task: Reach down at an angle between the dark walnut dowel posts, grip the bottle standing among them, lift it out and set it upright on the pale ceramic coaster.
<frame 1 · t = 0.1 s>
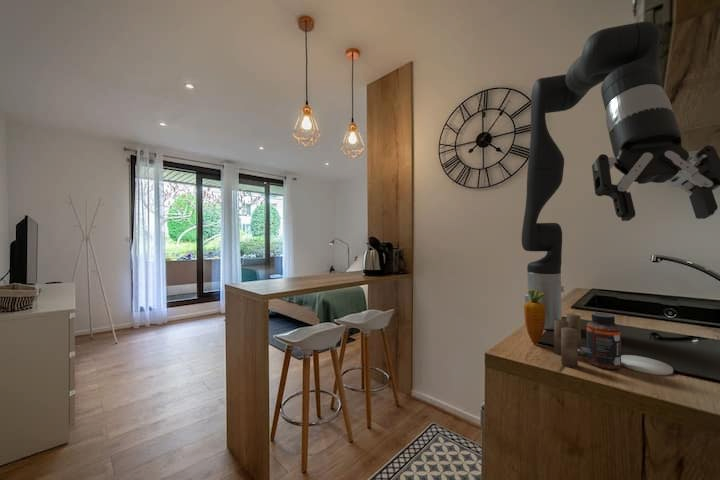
hand: (666, 217, 41), 31 cm above the countertop, tool tilted 20°, fingers open, 8 cm apart
nut: (583, 354, 73), on the countertop
post c: (561, 353, 73), on the countertop
carrot: (535, 345, 79), on the countertop
post a: (573, 345, 78), on the countertop
supplement bottle: (603, 365, 66), on the countertop
coaster: (643, 365, 65), on the countertop
post b: (569, 365, 66), on the countertop
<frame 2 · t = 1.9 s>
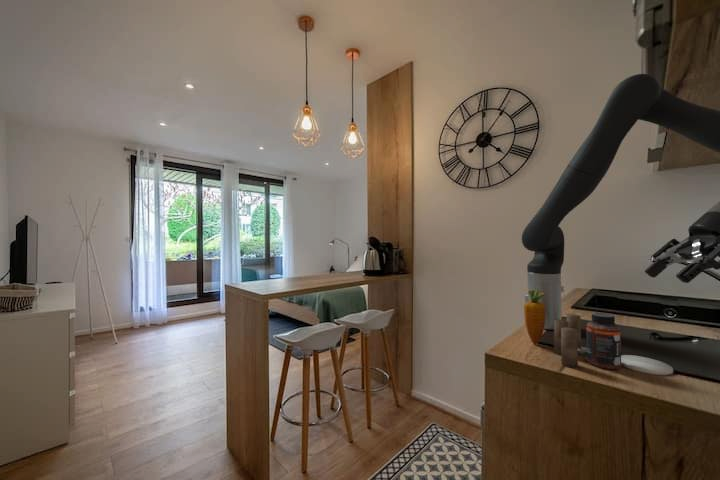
hand: (663, 277, 64), 20 cm above the countertop, tool tilted 45°, fingers open, 8 cm apart
nothing on the countertop moved.
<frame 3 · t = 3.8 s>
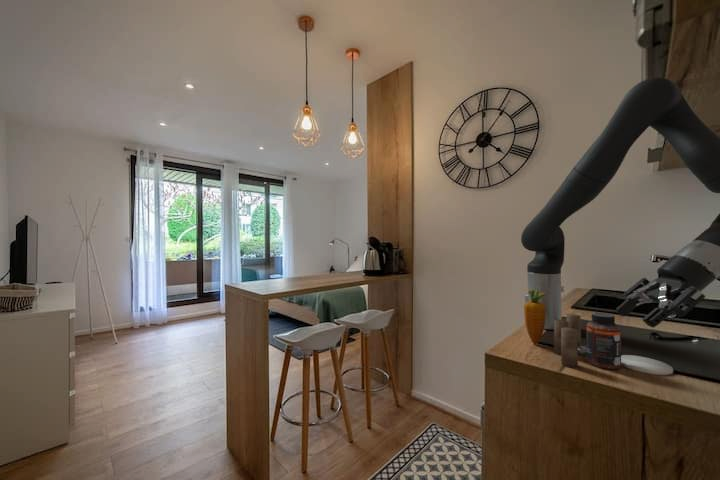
hand: (632, 318, 65), 11 cm above the countertop, tool tilted 45°, fingers open, 8 cm apart
nothing on the countertop moved.
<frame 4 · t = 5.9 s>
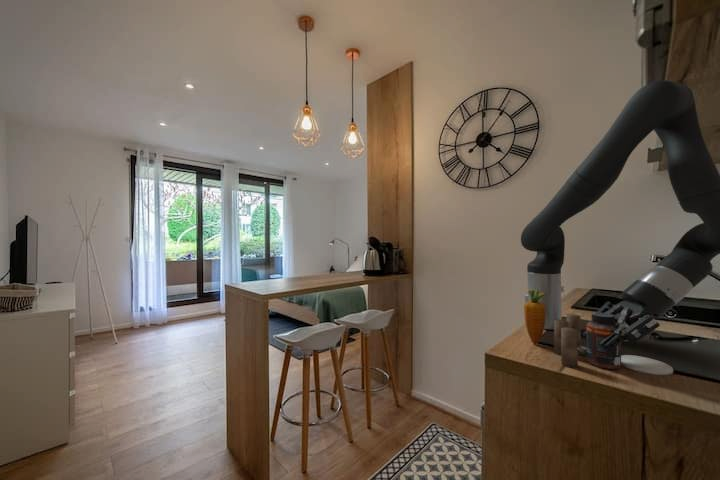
hand: (594, 342, 66), 5 cm above the countertop, tool tilted 45°, fingers closed on supplement bottle, 6 cm apart
supplement bottle: (603, 365, 66), on the countertop, touching gripper
everything else where it was.
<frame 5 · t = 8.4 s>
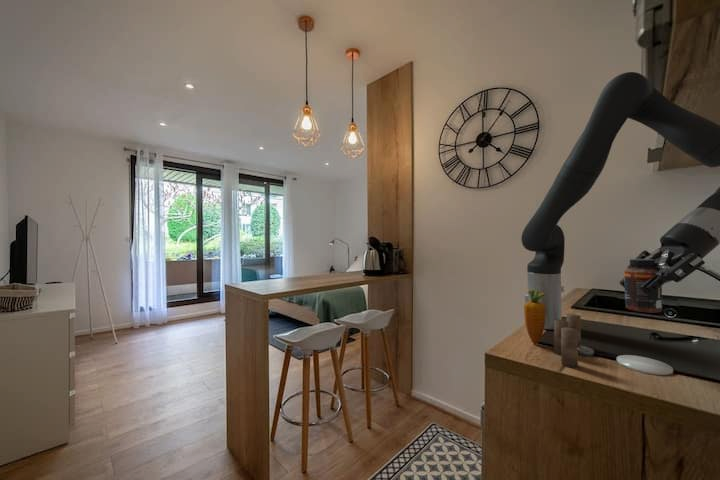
hand: (633, 288, 65), 17 cm above the countertop, tool tilted 45°, fingers closed on supplement bottle, 6 cm apart
supplement bottle: (643, 311, 65), point 12 cm above the countertop, touching gripper
everything else where it was.
when the fingers open (6 cm above the countertop, at t = 10.8 s): supplement bottle moves 1 cm, resting on coaster.
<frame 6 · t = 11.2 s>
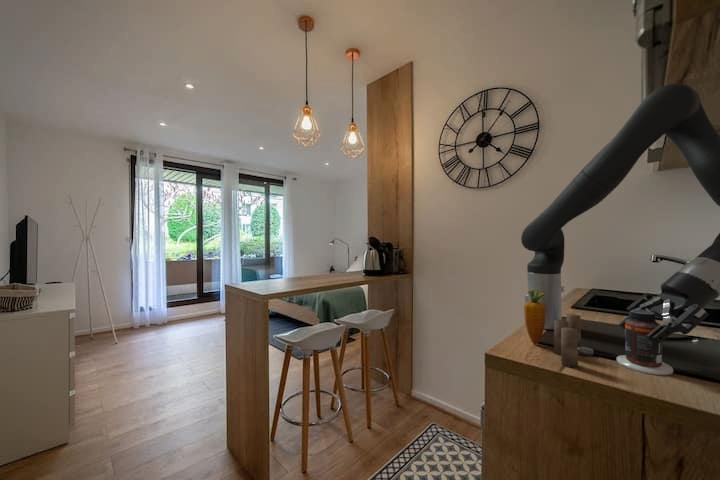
hand: (636, 334, 65), 7 cm above the countertop, tool tilted 45°, fingers open, 8 cm apart
supplement bottle: (643, 363, 65), resting on coaster
everything else where it was.
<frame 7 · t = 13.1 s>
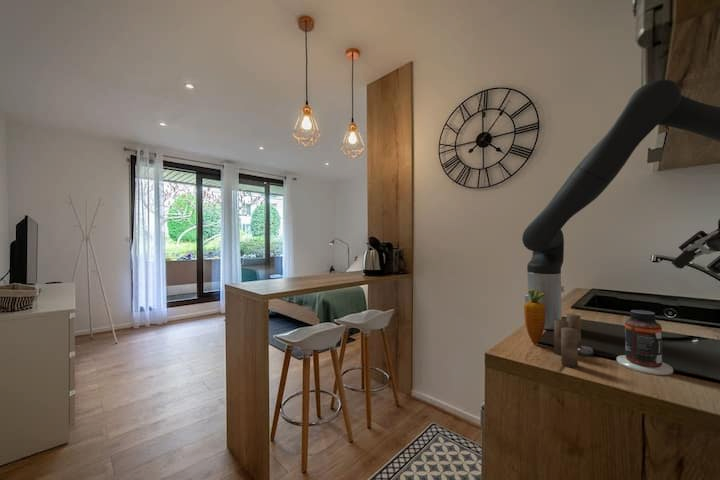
hand: (692, 268, 64), 22 cm above the countertop, tool tilted 45°, fingers open, 8 cm apart
nothing on the countertop moved.
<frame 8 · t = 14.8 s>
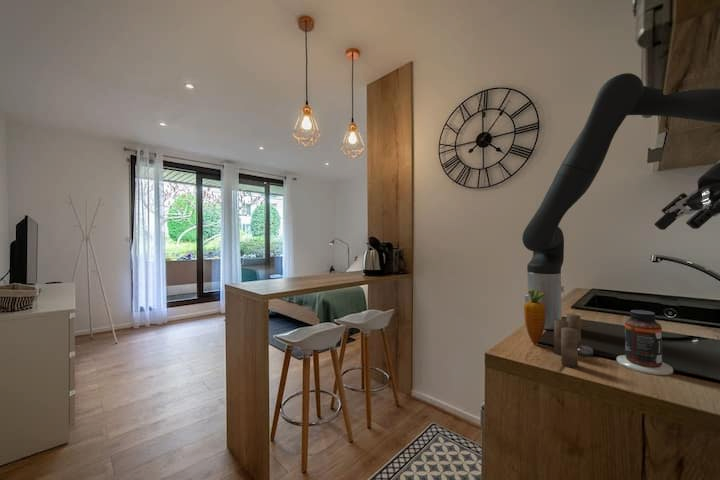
hand: (673, 226, 66), 31 cm above the countertop, tool tilted 45°, fingers open, 8 cm apart
nothing on the countertop moved.
at the end: supplement bottle inside the target area on the coaster (0.3 cm from its centre), point 0.4 cm above the coaster's base; supplement bottle tilted 0°; the gripper is holding nothing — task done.
